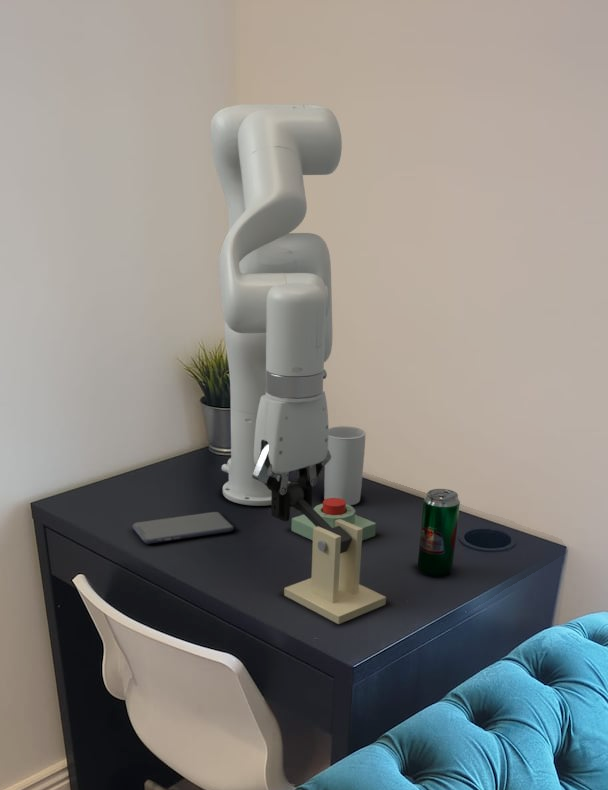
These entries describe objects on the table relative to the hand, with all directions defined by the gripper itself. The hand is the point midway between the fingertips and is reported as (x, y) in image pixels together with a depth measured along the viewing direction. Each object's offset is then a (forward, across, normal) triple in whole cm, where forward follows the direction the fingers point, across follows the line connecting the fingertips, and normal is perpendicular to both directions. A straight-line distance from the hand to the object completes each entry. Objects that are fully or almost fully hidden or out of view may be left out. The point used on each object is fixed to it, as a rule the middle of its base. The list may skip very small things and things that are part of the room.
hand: (291, 513), depth 136 cm
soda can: (+10, -18, +12) cm, 24 cm away
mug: (+10, -28, -19) cm, 35 cm away
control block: (+10, -16, -8) cm, 20 cm away
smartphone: (+10, +2, -24) cm, 26 cm away
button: (+6, -16, -8) cm, 19 cm away
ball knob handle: (+1, 0, +4) cm, 4 cm away
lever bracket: (+10, 0, +9) cm, 14 cm away
